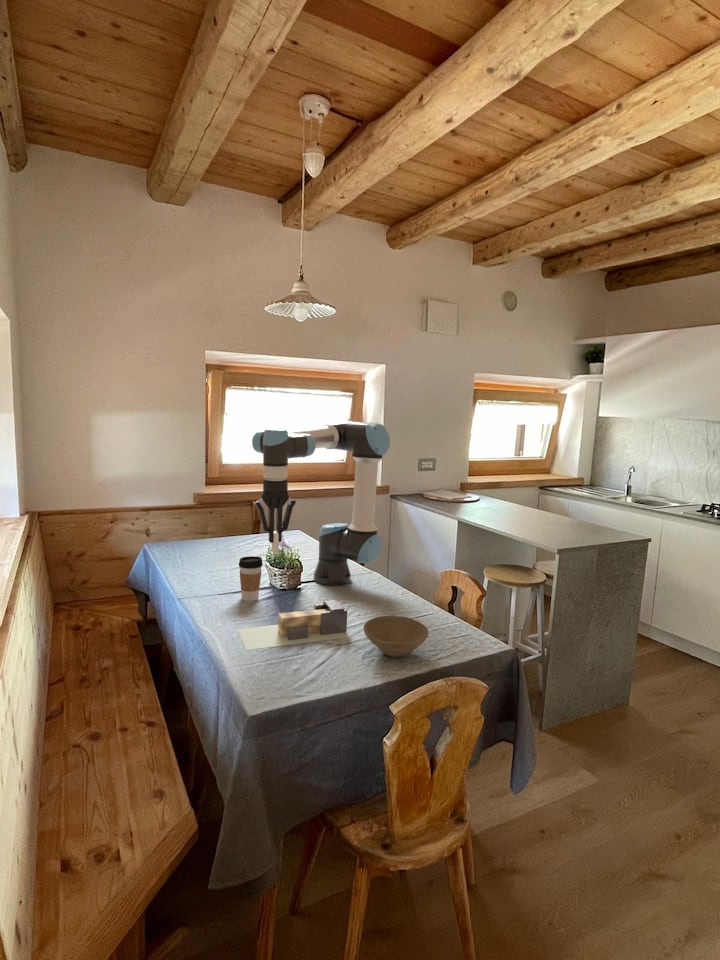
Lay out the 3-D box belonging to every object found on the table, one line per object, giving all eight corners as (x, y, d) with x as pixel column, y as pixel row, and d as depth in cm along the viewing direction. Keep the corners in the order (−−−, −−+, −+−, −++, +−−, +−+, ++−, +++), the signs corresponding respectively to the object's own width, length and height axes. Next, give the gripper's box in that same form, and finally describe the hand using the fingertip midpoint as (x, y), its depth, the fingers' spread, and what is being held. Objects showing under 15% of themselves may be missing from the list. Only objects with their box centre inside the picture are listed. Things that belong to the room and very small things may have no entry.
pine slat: (333, 625, 170) (334, 607, 169) (337, 630, 166) (338, 612, 165) (278, 632, 163) (278, 613, 162) (281, 637, 159) (281, 618, 158)
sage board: (334, 619, 176) (334, 618, 176) (351, 637, 162) (351, 636, 162) (237, 630, 164) (237, 629, 163) (246, 651, 150) (246, 650, 150)
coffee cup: (256, 603, 186) (257, 562, 184) (234, 601, 188) (234, 559, 186) (265, 595, 194) (266, 556, 193) (243, 593, 196) (244, 553, 194)
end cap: (321, 635, 162) (322, 610, 161) (313, 625, 169) (314, 601, 168) (346, 632, 165) (347, 608, 164) (337, 622, 172) (338, 599, 171)
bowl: (408, 676, 140) (410, 647, 139) (350, 656, 150) (351, 629, 149) (436, 651, 156) (438, 625, 155) (382, 634, 165) (383, 610, 164)
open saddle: (299, 625, 168) (299, 615, 168) (308, 637, 160) (308, 626, 159) (280, 627, 166) (281, 617, 165) (288, 640, 157) (288, 629, 157)
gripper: (292, 476, 171) (291, 547, 174) (252, 477, 166) (252, 550, 169) (299, 479, 164) (298, 553, 168) (257, 481, 159) (257, 557, 162)
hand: (275, 552), depth 168 cm, fingers closed
